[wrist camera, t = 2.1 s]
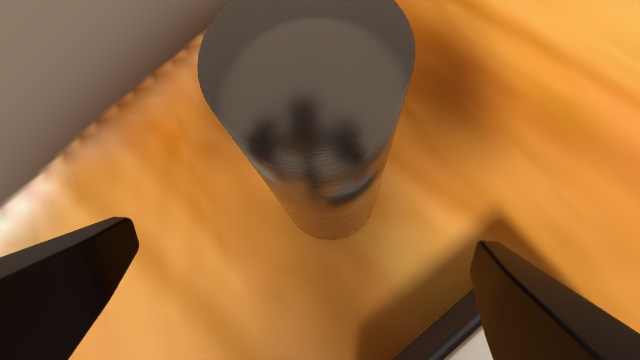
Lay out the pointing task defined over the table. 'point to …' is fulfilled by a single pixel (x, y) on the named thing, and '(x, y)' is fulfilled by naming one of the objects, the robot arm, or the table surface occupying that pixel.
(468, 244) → the table surface
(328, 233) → the tin
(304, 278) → the table surface
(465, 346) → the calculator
